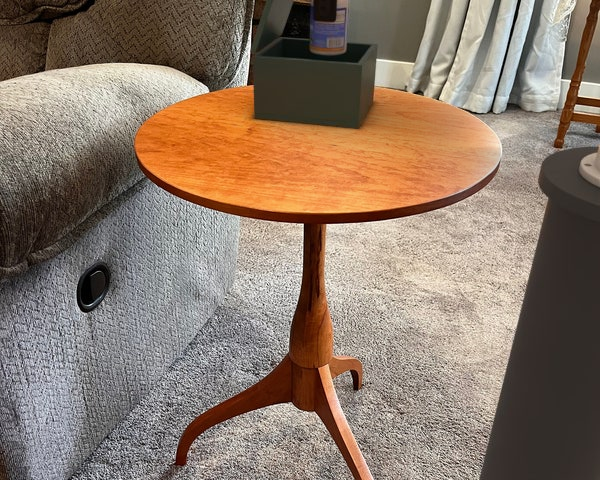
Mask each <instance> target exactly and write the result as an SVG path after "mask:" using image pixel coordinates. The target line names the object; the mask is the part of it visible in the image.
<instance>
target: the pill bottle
mask: <svg viewBox="0 0 600 480" xmlns="http://www.w3.org/2000/svg"><path fill="white" fill-rule="evenodd" d="M349 9H350V0H337V18H336V21H335V22H320V21H314V20H313V0H310V10H309V11H310V15H309V16H310V17H309V39H310V51H311V52H312V53H314V54H318V55H326V56H333V55H340V54H343V53H345V52H346V47H347V42H348V26H349Z"/></svg>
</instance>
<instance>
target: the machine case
mask: <svg viewBox="0 0 600 480" xmlns="http://www.w3.org/2000/svg"><path fill="white" fill-rule="evenodd" d="M378 46H379V45H378V43H370V42H356V41H347V47H346V52H345V53H343V54H340V55H333V56H326V55H318V54H314V53H312V52H311V51H310V38H299V37H298V38H297V37H285V36H279V37H278V38H276V39H275V40H274V41H272V42H271V43H270V44H268V45H267V46H265V47H264V48H263V49H261V50H260V51H258V52H257V53H256V54H254V55H253V56H252V82H253V83H252V85H253V86H252V87H253V118H254V119H256V120H264V121H265V120H266V121H277V122H287V123H298V124H307V125H319V126H327V127H339V128H348V129H359V128H360V126H361V124H362V123H363V121H364V119H365V118H366V115H367V114H368V112H369V110H370V108H371V106H372V105H373V103H374V98H375V97H374V96H375V84H376V73H377V71H376V70H377V58H378Z"/></svg>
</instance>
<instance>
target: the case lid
mask: <svg viewBox="0 0 600 480" xmlns="http://www.w3.org/2000/svg"><path fill="white" fill-rule="evenodd" d="M294 1H295V0H266V2H265V5H264V8H263V11H262V14H261V17H260V20H259V24H258V26H257V28H256V32H255V36H254V39H253V41H252V45H251V48H250V50H249V51H250V53H252V54H254V55H256V54H257V53H258V52H260V51H261V50H263V49H264V48H265V47H267V46H268V45H269V44H271V43H272V42H274V41H275V40H276V39H278V38H279V37H282V35H283V32H284V29H285V26H286V24H287V20H288V19H289V15H290V12H291V10H292V7H293V4H294Z"/></svg>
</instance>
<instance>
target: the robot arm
mask: <svg viewBox="0 0 600 480" xmlns="http://www.w3.org/2000/svg"><path fill="white" fill-rule="evenodd" d="M336 18H337V0H313V20H314V21H320V22H335V21H336ZM598 147H599V148H598V152H597V153H593V154H590V155H588V156H586V157H584V158H583V159H582V160H581V163H580V167H579V172H580V174H581V175H582V177H583V178H584V179H585V180H587V181H588V182H590V183H591V184H593V185H595V186H597V187H599V188H600V144H599V145H598Z"/></svg>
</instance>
